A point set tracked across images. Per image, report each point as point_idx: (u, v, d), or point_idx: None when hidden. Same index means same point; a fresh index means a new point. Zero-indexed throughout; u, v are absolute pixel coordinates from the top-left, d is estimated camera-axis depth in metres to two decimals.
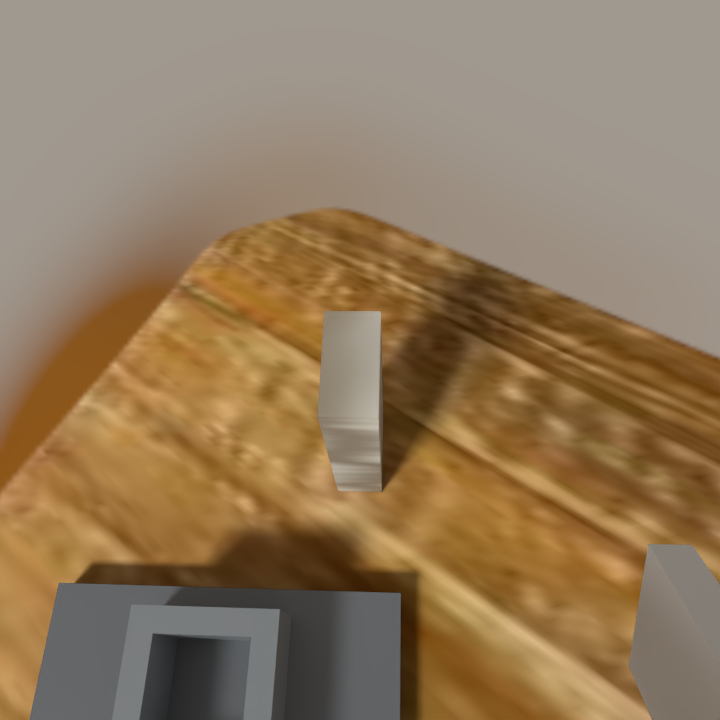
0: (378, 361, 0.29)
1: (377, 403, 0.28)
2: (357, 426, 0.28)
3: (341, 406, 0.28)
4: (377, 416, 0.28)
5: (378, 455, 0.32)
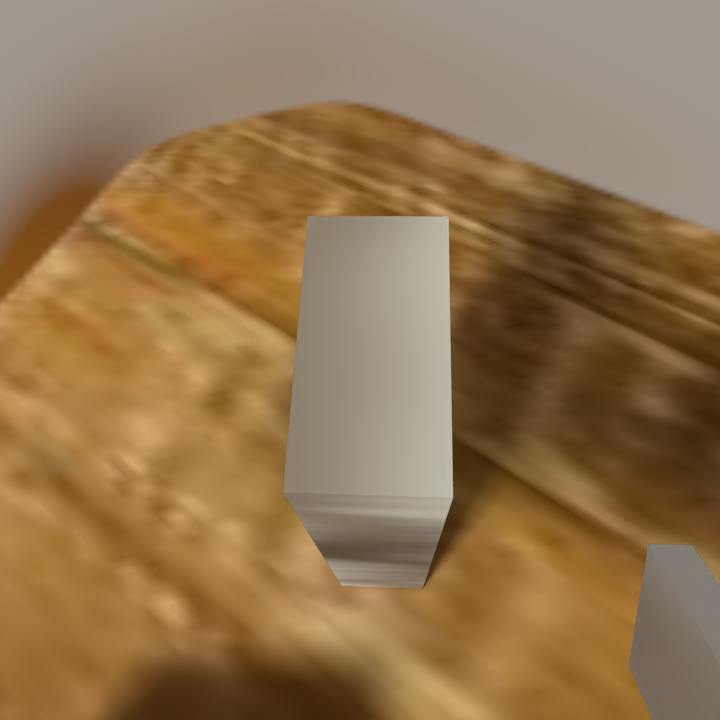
0: (447, 340, 0.11)
1: (449, 455, 0.10)
2: (391, 511, 0.11)
3: (349, 463, 0.10)
4: (450, 492, 0.10)
5: (430, 553, 0.14)
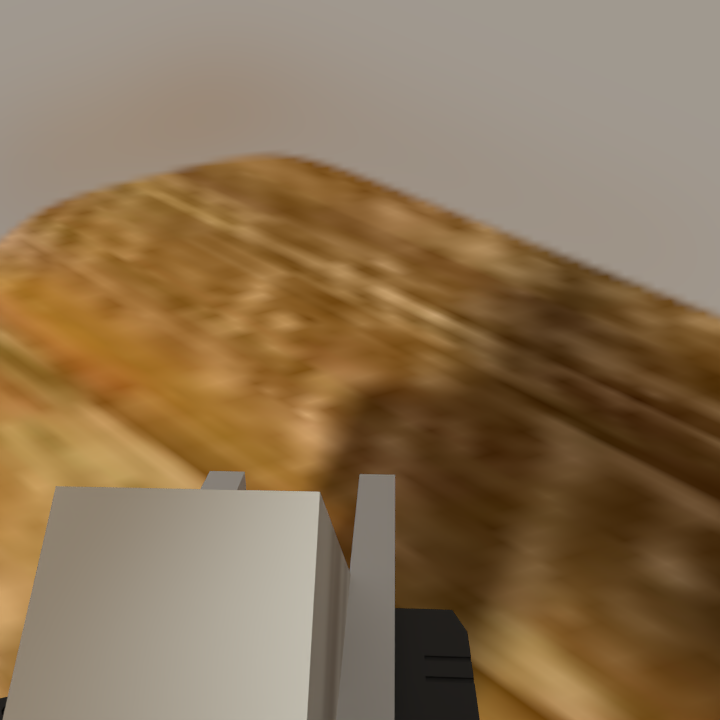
0: None
1: None
2: None
3: None
4: None
5: None
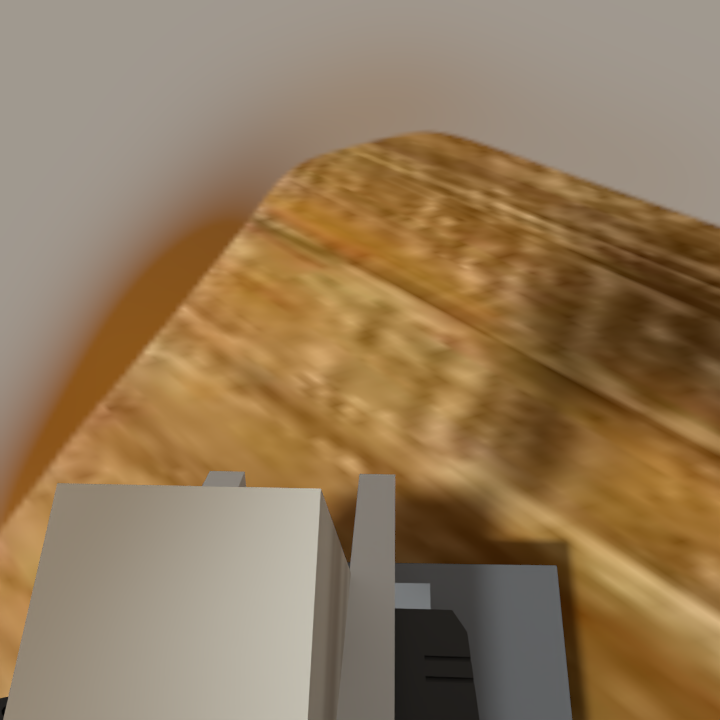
0: None
1: None
2: None
3: None
4: None
5: None
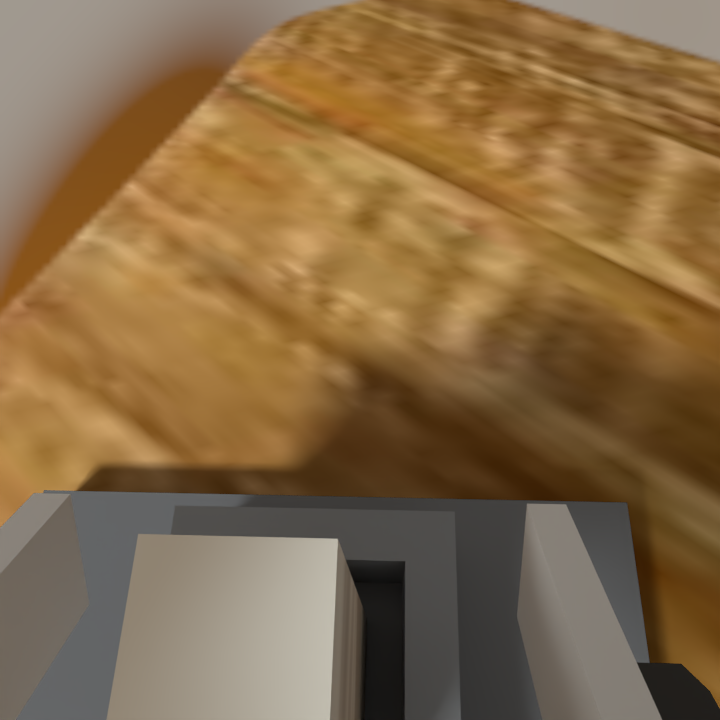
0: None
1: None
2: None
3: None
4: None
5: None
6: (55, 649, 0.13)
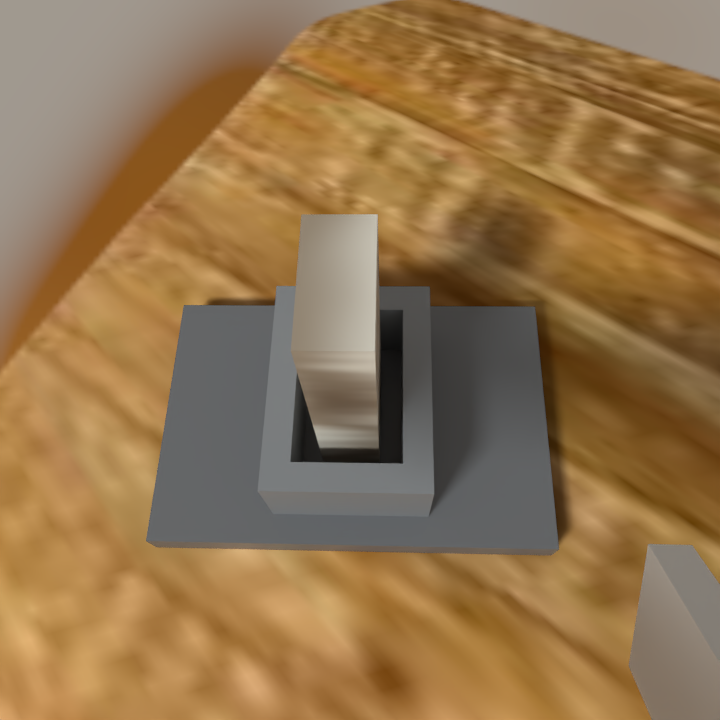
0: (374, 277, 0.21)
1: (373, 332, 0.20)
2: (346, 366, 0.21)
3: (323, 336, 0.20)
4: (373, 349, 0.20)
5: (375, 413, 0.24)
6: None
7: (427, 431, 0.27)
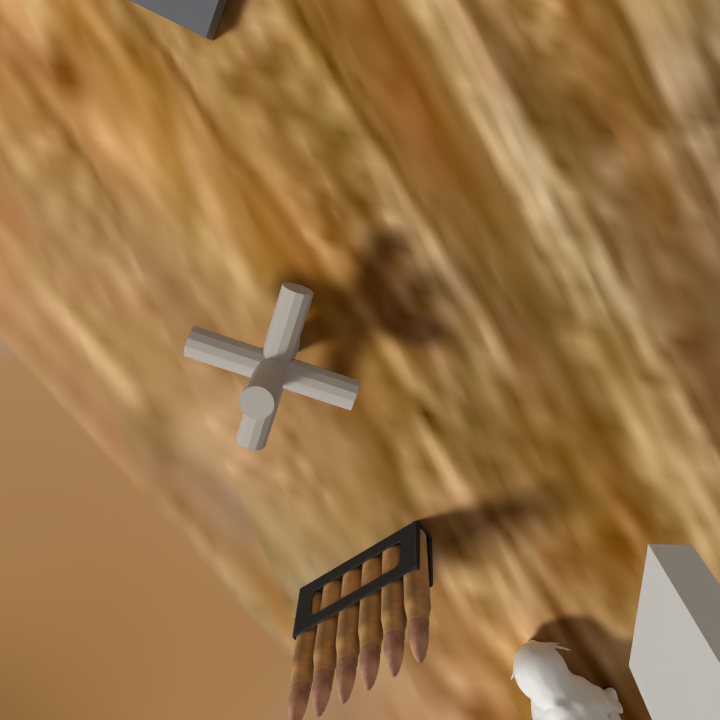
0: None
1: None
2: None
3: None
4: None
5: None
6: None
7: None
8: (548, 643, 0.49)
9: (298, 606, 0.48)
